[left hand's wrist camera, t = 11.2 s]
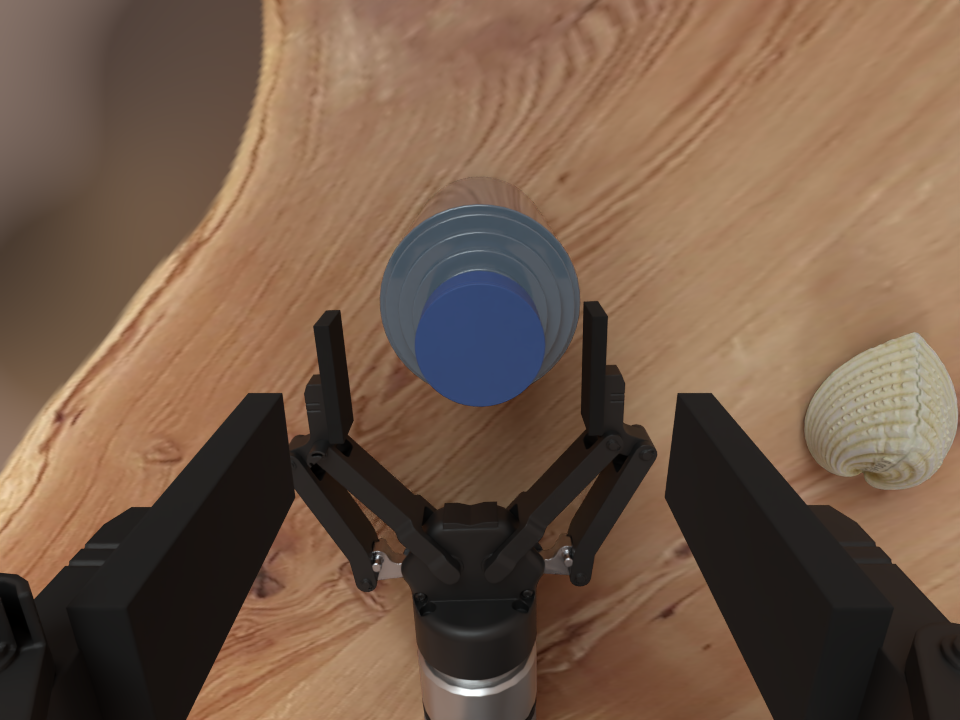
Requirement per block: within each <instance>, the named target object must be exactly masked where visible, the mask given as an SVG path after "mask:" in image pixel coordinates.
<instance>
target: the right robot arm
mask: <svg viewBox="0 0 960 720" xmlns="http://www.w3.org/2000/svg"><path fill="white" fill-rule="evenodd" d="M607 324H608V316H607V314H606V313H605V311H604V310H603V308H602V307H601V305H600V304H599V302H598V301H589V302H584V309H583V349H582V390H581V415H582V418H583V421H584V424H585V426H586V430H585V431H584V432H583V433H582V434H581V435H580V436H579V437H578V438H577V439H576V440H575V442H574V443H573V444H572V445H571V446H570V447H569V448H568V449H567V450H566V451H565V452H564V453H563V454H562V455H561V456H560V457H559V458H558V459H557V460H556V462H555V463H554V464H553V465H552V466H551V467H550V468H549V469H548V470H547V471H546V472H545V473H544V474H543V475H542V476H541V477H540V478H539V479H538V480H537V482H536V483H535V484H534V485H533V486H532V487H531V488H530V489H529V490H528V491H527V492H524V491H523V492H521V493H520V494H519V495H518V496H517V497H516V498H515V499H514V501H513V502H512V503H511V504H510V505H509V506H508V507H507V508H504V507H501V506H497V502H483V503H479V504H475V505H466V504H461V503H445V506H444V507H443V508H440V509H438V510H436V509H435V508H434V507H433V506H432V505H431V504H430V503H429V502H428V501H426V500H425V499H424V498H423V497H422V496H421V495H414V494H413V493H412V492H411V491H409V490H408V489H407V488H406V487H405V486H404V485H403V484H402V483H401V482H399V481H398V480H397V479H396V478H395V477H394V476H393V475H392V474H391V473H389V472H388V471H387V470H386V469H385V468H384V467H383V466H382V465H381V464H379V463H378V462H377V461H376V460H375V459H374V458H373V457H372V456H371V455H370V454H368V453H367V452H366V451H365V450H364V449H363V448H362V447H361V446H360V445H358V444H357V443H356V442H355V441H354V440H353V439H352V438H351V437H350V436H348V432H349V430H350V428H351V425H352V423H353V421H354V420H353V411H352V403H351V395H350V387H349V378H348V370H347V362H346V354H345V345H344V337H343V329H342V320H341V312H340V310H328V311H325V313H324V314H323V315H322V316H321V317H320V319H319V320H318V321H317V322H316V324H315V325H314V326H313V328H314V335H315V342H316V349H317V357H318V364H319V371H320V374H319V375H313V376H312V378H311V379H310V381H309V382H308V384H307V386H306V389H305V393H304V396H305V402H306V409H307V416H308V422H309V429H310V434H308V435H297V436H295V437H294V438H293V439H292V441H291V442H290V444H289V451H290V459H291V467H292V475H293V483H294V489H295V490H296V491H297V493H298V494H299V495H300V497H301V498H302V499H303V501H304V502H305V503H306V505H307V506H308V507H309V509H310V510H311V511H312V513H313V514H314V515H315V516H316V518H317V519H318V520H319V522H320V523H321V524H322V526H323V527H324V528H325V530H326V531H327V532H328V534H329V535H330V536H331V538H332V539H333V540H334V542H335V543H336V544H337V546H338V547H339V548H340V549H341V551H342V552H343V553H344V555H345V556H346V557H347V559H348V560H349V561H350V564H351V568H352V571H353V575H354V579H355V582H356V585H357V587H358V589H360V590H361V591H364V592H370V591H373V590H374V589H375V588H376V586H377V581H378V580H382V579H391V578H399V577H403V578H404V579H405V581H406V582H407V583H408V584H409V586H410V588H411V591H412V597H413V608H414V618H415V629H416V639H417V645H418V661H419V671H420V680H421V689H422V700H423V707H424V715H425V720H536V693H537V645H536V587H537V583H538V581H539V579H540V578H541V576H542V575H543V573H546V574H561V575H569V576H570V581H571V583H572V584H574V585H575V586H584V585H587V584H588V583H589V581H590V579H591V574H592V568H593V563H594V557H595V554H596V553H597V551H598V549H599V548H600V546H601V545H602V543H603V541H604V540H605V538H606V537H607V535H608V534H609V532H610V530H611V529H612V527H613V526H614V524H615V523H616V521H617V519H618V518H619V516H620V515H621V513H622V512H623V510H624V508H625V507H626V505H627V504H628V502H629V501H630V499H631V497H632V496H633V494H634V493H635V491H636V489H637V488H638V486H639V485H640V483H641V482H642V480H643V478H644V477H645V475H646V474H647V472H648V471H649V469H650V467H651V466H652V464H653V463H654V461H655V460H656V457H657V451H656V449H655V447H654V445H653V443H652V441H651V439H650V437H649V436H648V434H647V432H646V430H645V428H644V427H643V426H641V425H637V424H636V425H632V426H630V425H627V424H625V423H623V414H624V393H625V382H624V380H623V377H622V375H621V373H620V371H619V369H618V367H617V366H616V365H606V349H607ZM600 472H601V473H600ZM599 473H600V474H599ZM598 474H599V476H598V477H597V479H596V481H595V482H594V484H593V486H592V487H591V489H590V491H589V492H588V494H587V496H586V497H585V499H584V501H583V502H582V504H581V506H580V507H579V509H578V511H577V512H576V514H575V516H574V517H573V519H572V521H571V524H570V526H569V529H568V534H565V533H564V534H561V535H560V536H559V539H558V540H557V541H556V543H555V545H554V546H553V547H552V548H551V549H548V550H543V549H542V547H541V545H540V544H539V543H538V541H539V540H540V539H541V538H542V537H543V535H544V532H545V529H546V527H547V526H548V525H549V524H550V523H551V522H552V521H553V520H554V519H555V518H556V517H557V516H558V515H559V514H560V513H561V512H562V511H563V510H564V509H565V508H566V507H567V506H568V505H569V504H570V503H571V502H572V501H573V499H574V498H575V497H576V496H577V495H578V494H579V493H580V492H581V491H582V490H583V489H584V488H585V487H586V486H587V485H588V484H589V483H590V482H591V481H592V480H593V479H594V478H595V477H596V476H597V475H598ZM347 490H348V491H349V492H350V493H351V494H353V495H354V496H355V497H356V498H357V499H358V500H359V501H361V502H362V503H363V504H364V505H365V506H366V507H367V508H369V509H370V510H371V511H372V512H373V513H374V514H375V515H377V516H378V517H379V518H380V519H381V520H382V521H384V522H385V523H386V524H387V525H388V526H389V527H390V528H392V529H393V530H394V531H395V533H396V535H397V538H398V540H399V541H400V543H401V544H402V545H404V546H405V547H406V549H405V551H404V553H403V554H398V553H395V552H393V551H392V550H391V548H390V547H389V545H388V544H387V541H386V540H385V539H383V538H381V539H379V540H378V537H377V534H376V532H375V529H374V527H373V526H372V524H371V523H370V521H369V520H368V518H367V517H366V516H365V514H364V513H363V512H362V510H361V509H360V507H359V506H358V505H357V503H356V502H355V500H354V499H353V498H352V496H351V495H350V494H349V492H348V491H347Z"/></svg>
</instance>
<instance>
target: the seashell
mask: <svg viewBox="0 0 960 720" xmlns="http://www.w3.org/2000/svg"><path fill="white" fill-rule="evenodd" d="M957 422H958V408H957V398H956V393H955V390H954V386H953V383H952V381H951V378H950V376H949V374H948V372H947V370H946V368H945V366H944V364H943V363H942V362H941V360H940V358H939V357H938V355H937V354H936V353H935V351H934V350H933V349H932V348H931V347H930V346H929V345H928V344H927V343H926V341H925V340H924V339H923V338H922V337H921V336H920V335H919V333H915V332H913V333H910V334H907V335H904V336H901V337H899V338H897V339H892V340H889V341H887V342H886V343H884V344H881V345H878V346H876V347H874V348H870V349H868V350H866V351H864V352H862V353H860V354H858V355H857V356H855V357H854V358H852V359H851V360H849V361H848V362H846V363H845V364H843V365H842V366H840V367H839V368H838V369H836V370H835V371H834V372H833V373H832V374H831V375H830V376H829V377H828V378H827V379H826V380H825V381H824V382H823V383H822V385H821V386H820V387H819V389H818V390H817V391H816V393H815V395H814V396H813V398H812V400H811V402H810V404H809V407H808V409H807V413H806V416H805V425H804V434H805V439H806V443H807V446H808V449H809V451H810V453H811V454H812V456H813V458H814V459H815V460H816V462H817V463H818V464H819V465H820V466H821V467H823V468H824V469H826V470H827V471H828V472H831V473H833V474H835V475H838V476H843V477H852V476H856V475H858V474H860V473H864V477H865V480H866V482H867V483H868V484H869V485H871V486H872V487H874V488H878V489H883V490H898V489H907V488H911V487H915V486H917V485H919V484H921V483H922V482H924V481H926V480H927V479H930V477H931V476H932V475H933V474H934V473H935V472H937V470H938V469H939V468H940V466H941V464H942V463H943V459H944V458H945V456H946V454H947V453H948V451H949V449H950V447H951V445H952V443H953V440H954V437H955V434H956V429H957Z"/></svg>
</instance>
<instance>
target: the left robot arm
mask: <svg viewBox="0 0 960 720" xmlns="http://www.w3.org/2000/svg"><path fill="white" fill-rule="evenodd" d="M294 499H295V491H294V483H293V475H292V467H291V459H290V451H289V443H288V435H287V427H286V419H285V411H284V403H283V395H282V393H248V394H247V395H246V397H245V398H244V399H243V400H242V401H241V402H240V404H239V405H238V406H237V407H236V408H235V410H234V411H233V412H232V413H231V414H230V415H229V417H228V418H227V419H226V420H225V421H224V422H223V424H222V425H221V426H220V427H219V428H218V429H217V431H216V432H215V433H214V434H213V435H212V437H211V438H210V439H209V440H208V441H207V442H206V444H205V445H204V446H203V447H202V448H201V449H200V451H199V452H198V453H197V454H196V455H195V456H194V458H193V459H192V460H191V461H190V462H189V464H188V465H187V466H186V467H185V468H184V469H183V471H182V472H181V473H180V474H179V475H178V476H177V478H176V479H175V480H174V481H173V482H172V483H171V485H170V486H169V487H168V488H167V489H166V491H165V492H164V493H163V494H162V495H161V496H160V498H159V499H158V500H157V501H156V502H155V503H154V505H153V506H152V507H131V508H129V509H128V510H126V511H125V512H123V513H121V514H120V515H118V516H117V517H115V518H113V519H112V520H110V521H109V522H107V523H106V524H104V525H103V526H102V527H101V528H100V529H99V530H98V531H97V532H96V534H95V535H94V536H93V537H92V538H91V539H90V540H89V541H88V542H87V543H86V544H85V548H84V549H81V550H80V551H79V552H78V553H77V554H76V555H75V556H74V557H73V558H72V559H71V560H70V561H69V566H65V567H64V568H63V569H62V570H61V571H60V572H59V573H58V574H57V575H56V576H55V577H54V579H53V580H52V581H51V582H50V583H49V584H48V585H47V586H46V587H45V588H44V589H43V590H42V591H41V592H40V594H39V595H38V596H37V597H36V598H35V599H33V596H32V592H31V589H30V586H29V583H28V581H27V580H25V579H24V578H22V577H20V576H19V575H17V574H7V573H0V720H186V719H187V717H188V715H189V713H190V711H191V709H192V707H193V705H194V703H195V700H196V698H197V696H198V694H199V692H200V690H201V688H202V686H203V684H204V682H205V680H206V678H207V676H208V674H209V672H210V670H211V668H212V666H213V664H214V662H215V660H216V658H217V656H218V654H219V652H220V650H221V648H222V646H223V643H224V641H225V639H226V637H227V635H228V633H229V631H230V629H231V627H232V625H233V623H234V621H235V619H236V617H237V615H238V613H239V611H240V609H241V607H242V605H243V603H244V601H245V599H246V597H247V595H248V593H249V591H250V589H251V586H252V584H253V582H254V580H255V578H256V576H257V574H258V572H259V570H260V568H261V566H262V564H263V562H264V560H265V558H266V556H267V554H268V552H269V550H270V548H271V546H272V544H273V542H274V540H275V538H276V536H277V534H278V532H279V529H280V527H281V525H282V523H283V521H284V519H285V517H286V515H287V513H288V511H289V509H290V507H291V505H292V503H293V501H294ZM665 499H666V501H667V503H668V505H669V507H670V509H671V511H672V513H673V515H674V517H675V519H676V521H677V523H678V525H679V527H680V529H681V532H682V534H683V536H684V538H685V540H686V542H687V544H688V546H689V548H690V550H691V552H692V554H693V556H694V558H695V560H696V562H697V564H698V566H699V568H700V570H701V572H702V574H703V576H704V578H705V580H706V582H707V584H708V586H709V589H710V591H711V593H712V595H713V597H714V599H715V601H716V603H717V605H718V607H719V609H720V611H721V613H722V615H723V617H724V619H725V621H726V623H727V625H728V627H729V629H730V631H731V633H732V635H733V637H734V639H735V641H736V643H737V646H738V648H739V650H740V652H741V654H742V656H743V658H744V660H745V662H746V664H747V666H748V668H749V670H750V672H751V674H752V676H753V678H754V680H755V682H756V684H757V686H758V688H759V690H760V692H761V694H762V696H763V698H764V700H765V703H766V705H767V707H768V709H769V711H770V713H771V715H772V717H773V719H774V720H960V624H956V623H950V621H949V620H948V619H947V618H946V617H945V616H944V615H943V614H942V613H941V612H940V611H939V610H938V609H937V608H936V607H935V605H934V604H933V603H932V602H931V601H930V600H929V599H928V598H927V597H926V596H925V595H924V594H923V593H922V592H921V591H920V590H919V588H918V587H917V586H916V585H915V584H914V583H913V582H912V581H911V580H910V579H909V578H908V577H907V576H906V575H905V574H904V572H903V571H902V570H901V569H900V568H899V567H898V566H897V565H896V564H892V562H891V559H890V558H889V556H888V555H887V554H886V553H885V552H884V551H883V550H882V549H881V548H880V547H876V544H875V542H874V541H873V539H872V538H871V537H870V536H869V535H868V534H867V533H866V532H865V531H864V530H863V529H862V528H861V527H860V526H859V525H858V523H857V522H855V521H853V520H852V519H850V518H849V517H847V516H845V515H844V514H842V513H841V512H839V511H837V510H836V509H834V508H833V507H831V506H829V505H806V503H805V502H804V501H803V500H802V499H801V498H800V496H799V495H798V494H797V493H796V492H795V491H794V489H793V488H792V487H791V486H790V485H789V483H788V482H787V481H786V480H785V479H784V478H783V476H782V475H781V474H780V473H779V472H778V471H777V469H776V468H775V467H774V466H773V465H772V464H771V462H770V461H769V460H768V459H767V458H766V456H765V455H764V454H763V453H762V452H761V451H760V449H759V448H758V447H757V446H756V445H755V444H754V442H753V441H752V440H751V439H750V438H749V437H748V435H747V434H746V433H745V432H744V431H743V429H742V428H741V427H740V426H739V425H738V424H737V422H736V421H735V420H734V419H733V418H732V417H731V415H730V414H729V413H728V412H727V411H726V410H725V408H724V407H723V406H722V405H721V404H720V402H719V401H718V400H717V399H716V398H715V397H714V395H713V394H712V393H678V395H677V403H676V411H675V419H674V427H673V435H672V443H671V451H670V459H669V467H668V475H667V483H666V491H665Z"/></svg>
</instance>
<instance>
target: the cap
mask: <svg viewBox="0 0 960 720" xmlns="http://www.w3.org/2000/svg"><path fill="white" fill-rule="evenodd" d="M415 355H416V359H417V363H418V366H419V368H420V370H421V373H422V374H423V376H424V377H425V379H426V380H427V382H428V383H429V384H430V385H431V386H432V387H433V388H434V389H435V390H436V391H437V392H439V393H440V394H441V395H443V396H444V397H446V398H448V399H450V400H452V401H454V402H457V403H460V404H463V405H468V406H479V407H483V406H492V405H497V404H500V403H503V402H506V401H508V400H510V399H512V398H514V397H516V396H517V395H519V394H520V393H522V392H523V391H524V390H525V389H526V388H527V387H528V386H529V385H530V384H531V383H532V382H533V380H534V379H535V377H536V376H537V374H538V372H539V370H540V368H541V366H542V363H543V360H544V355H545V335H544V330H543V327H542V323H541V320H540V317H539V313H538V311H537V308H536V305H535V304H534V302H533V300H532V298H531V297H530V295H529V294H528V293H527V292H526V291H525V290H524V288H523V287H521V286H520V285H519V284H518V283H517V282H515V281H513V280H512V279H510V278H508V277H506V276H504V275H501V274H498V273H494V272H488V271H472V272H466V273H462V274H459V275H456V276H454V277H452V278H450V279H448V280H447V281H445V282H444V283H442V284H441V285H440V286H439V287H438V288H437V289H435V290H434V292H433V293H432V294H431V295H430V297H429V298H428V300H427V302H426V303H425V306H424V308H423V310H422V314H421V317H420V320H419V324H418V327H417V331H416V335H415Z"/></svg>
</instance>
